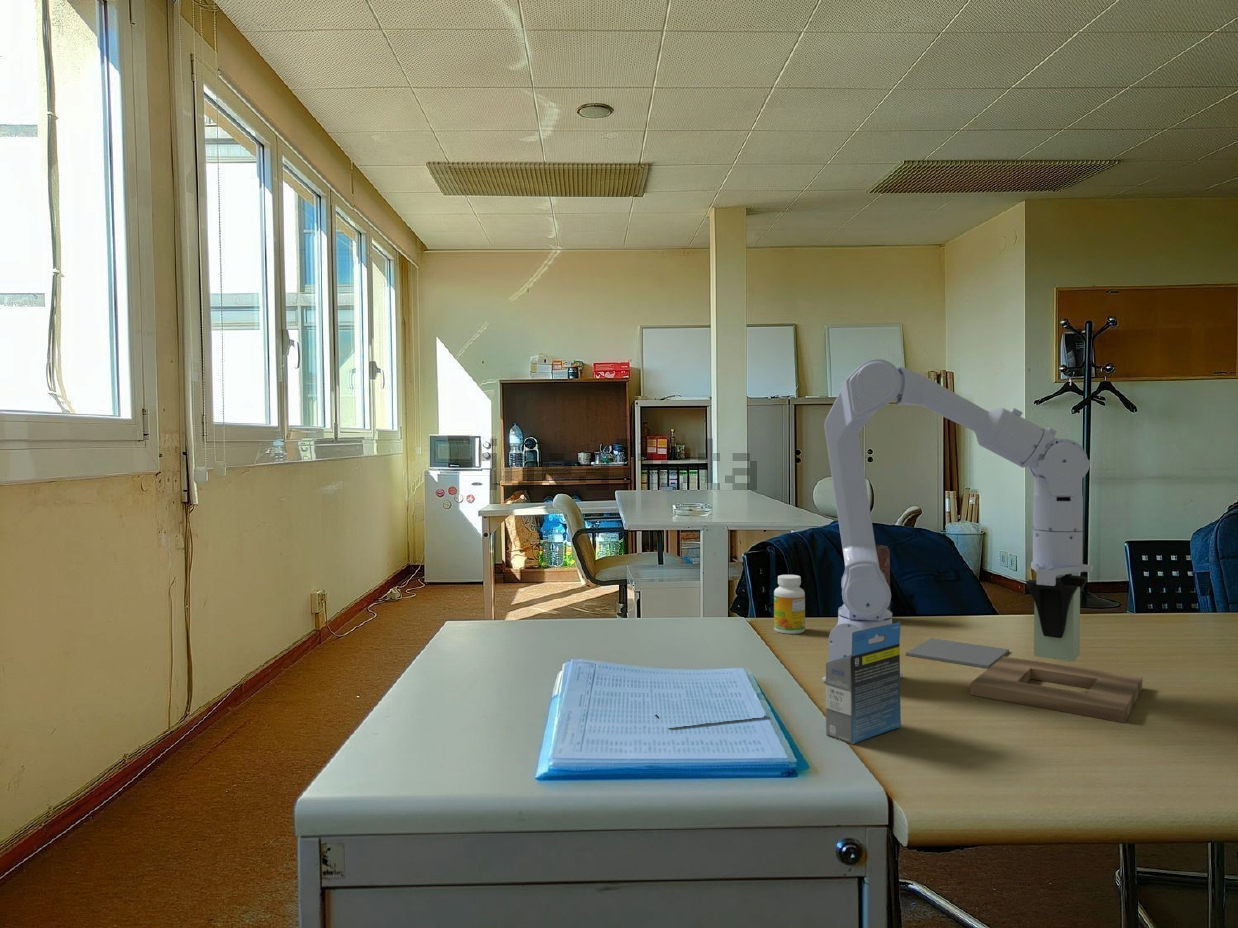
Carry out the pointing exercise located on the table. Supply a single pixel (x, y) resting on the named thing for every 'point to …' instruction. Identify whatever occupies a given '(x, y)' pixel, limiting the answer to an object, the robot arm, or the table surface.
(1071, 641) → the peg
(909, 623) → the table surface
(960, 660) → the pad
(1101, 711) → the collar
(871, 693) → the label tape cartridge
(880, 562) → the can
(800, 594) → the supplement bottle
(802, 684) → the table surface
